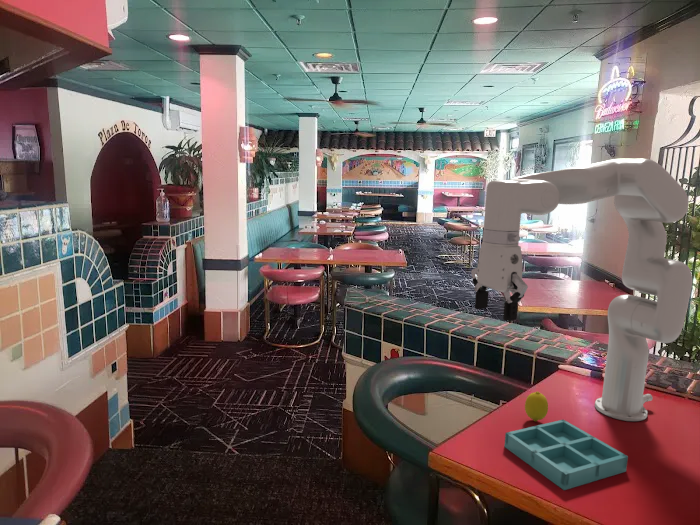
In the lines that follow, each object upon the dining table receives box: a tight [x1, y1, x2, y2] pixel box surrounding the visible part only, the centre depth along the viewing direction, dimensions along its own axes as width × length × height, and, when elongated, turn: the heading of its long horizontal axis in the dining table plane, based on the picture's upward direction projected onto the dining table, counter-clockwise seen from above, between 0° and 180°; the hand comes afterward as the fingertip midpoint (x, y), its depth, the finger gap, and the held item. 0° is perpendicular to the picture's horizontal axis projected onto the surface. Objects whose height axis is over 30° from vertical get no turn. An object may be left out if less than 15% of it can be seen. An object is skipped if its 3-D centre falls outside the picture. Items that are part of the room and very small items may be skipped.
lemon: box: [524, 391, 549, 422], centre depth 133 cm, size 6×6×8 cm
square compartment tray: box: [504, 419, 629, 491], centre depth 116 cm, size 18×18×4 cm
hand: (494, 313), depth 117 cm, fingers open, 9 cm apart
